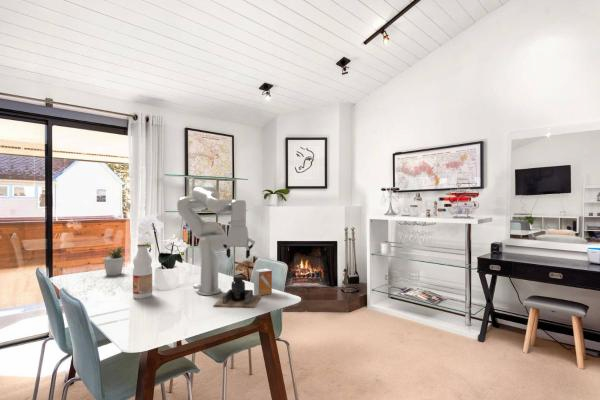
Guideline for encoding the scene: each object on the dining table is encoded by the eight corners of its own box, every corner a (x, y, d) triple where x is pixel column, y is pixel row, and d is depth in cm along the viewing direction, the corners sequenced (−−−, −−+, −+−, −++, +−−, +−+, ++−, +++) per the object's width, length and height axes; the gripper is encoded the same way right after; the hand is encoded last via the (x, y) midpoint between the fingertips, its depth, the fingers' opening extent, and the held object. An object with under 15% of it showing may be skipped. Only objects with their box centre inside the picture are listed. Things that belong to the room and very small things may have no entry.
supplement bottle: (232, 297, 178) (232, 274, 178) (245, 297, 179) (245, 274, 179) (230, 301, 172) (230, 277, 171) (244, 301, 172) (244, 277, 172)
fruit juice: (147, 299, 178) (147, 245, 178) (129, 298, 178) (129, 245, 178) (155, 293, 188) (155, 242, 187) (138, 293, 188) (138, 242, 187)
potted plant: (119, 276, 227) (119, 246, 226) (99, 276, 227) (99, 246, 226) (129, 272, 239) (129, 243, 239) (109, 272, 239) (109, 243, 239)
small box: (258, 296, 184) (258, 272, 184) (253, 293, 189) (253, 269, 189) (272, 293, 189) (272, 270, 188) (266, 291, 194) (266, 268, 194)
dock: (213, 306, 166) (213, 297, 166) (224, 295, 184) (224, 287, 184) (254, 307, 165) (254, 298, 165) (260, 296, 183) (260, 288, 183)
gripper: (219, 224, 172) (219, 258, 172) (253, 225, 171) (253, 259, 171) (223, 223, 180) (223, 255, 180) (256, 223, 178) (256, 256, 179)
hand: (238, 257), depth 176 cm, fingers open, 9 cm apart
